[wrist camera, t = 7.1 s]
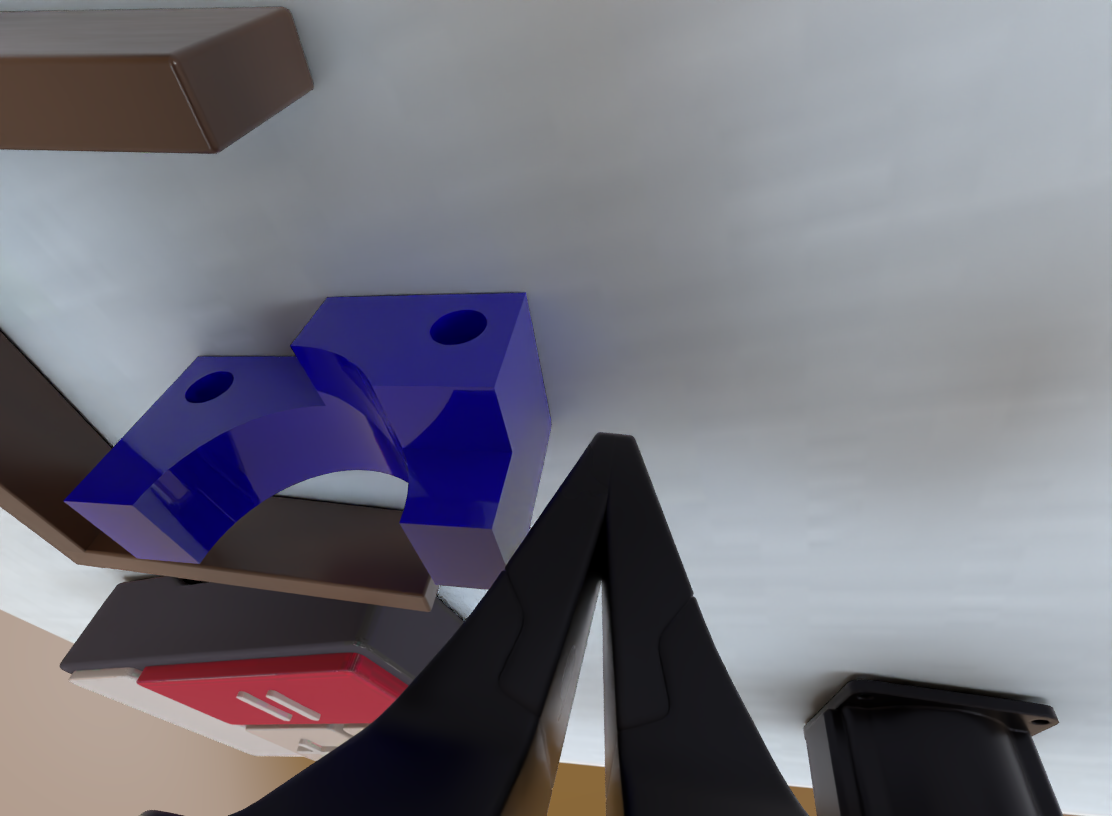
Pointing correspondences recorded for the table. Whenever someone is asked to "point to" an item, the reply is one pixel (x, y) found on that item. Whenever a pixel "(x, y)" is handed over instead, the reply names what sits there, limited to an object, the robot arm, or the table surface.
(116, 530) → the cable holder
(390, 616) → the calculator
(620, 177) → the table surface
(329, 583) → the square wooden border
